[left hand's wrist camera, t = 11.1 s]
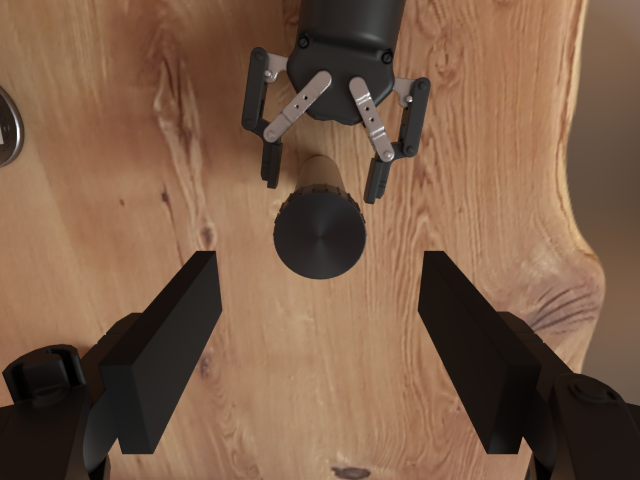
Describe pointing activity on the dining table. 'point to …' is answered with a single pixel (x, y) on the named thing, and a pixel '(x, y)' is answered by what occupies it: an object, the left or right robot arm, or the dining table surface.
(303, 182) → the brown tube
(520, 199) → the dining table surface
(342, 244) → the lid
